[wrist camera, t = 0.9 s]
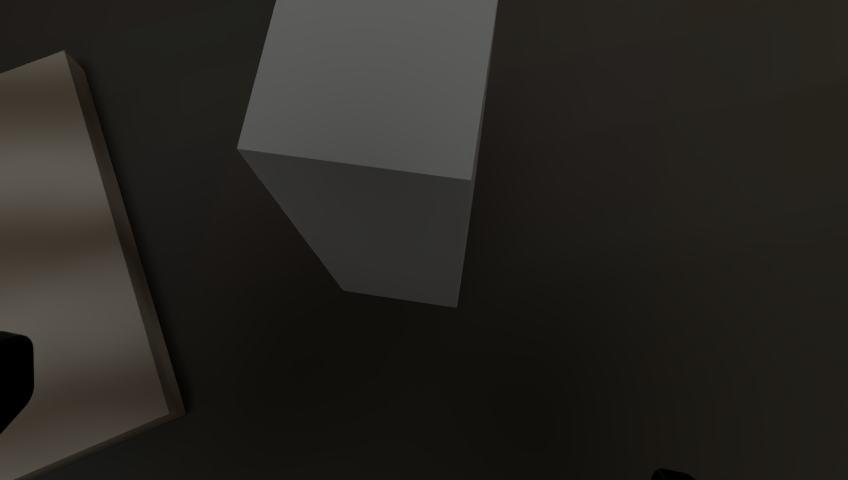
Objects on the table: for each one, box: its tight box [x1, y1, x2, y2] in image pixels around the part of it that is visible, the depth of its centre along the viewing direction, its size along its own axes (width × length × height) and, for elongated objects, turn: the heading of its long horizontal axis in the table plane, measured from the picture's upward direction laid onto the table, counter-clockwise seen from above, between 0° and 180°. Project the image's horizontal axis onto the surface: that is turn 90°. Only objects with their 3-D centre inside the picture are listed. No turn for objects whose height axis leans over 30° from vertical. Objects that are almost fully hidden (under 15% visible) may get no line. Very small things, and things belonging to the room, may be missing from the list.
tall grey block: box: [237, 0, 498, 308], centre depth 18 cm, size 4×4×13 cm
